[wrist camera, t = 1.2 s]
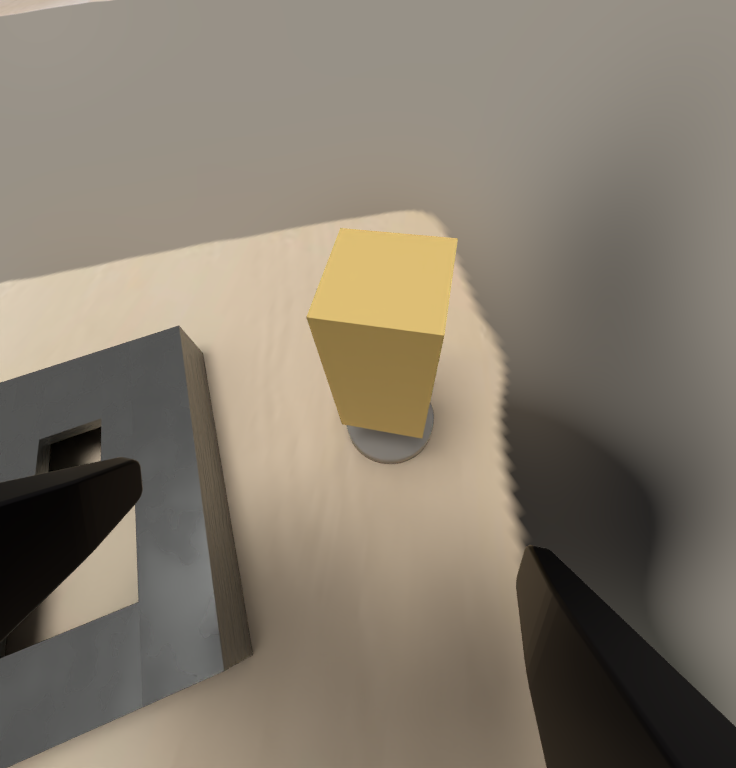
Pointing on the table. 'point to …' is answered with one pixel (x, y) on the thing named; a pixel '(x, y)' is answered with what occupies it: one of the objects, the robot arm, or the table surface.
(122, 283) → the table surface
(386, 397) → the mustard peg
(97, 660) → the keyhole plate
